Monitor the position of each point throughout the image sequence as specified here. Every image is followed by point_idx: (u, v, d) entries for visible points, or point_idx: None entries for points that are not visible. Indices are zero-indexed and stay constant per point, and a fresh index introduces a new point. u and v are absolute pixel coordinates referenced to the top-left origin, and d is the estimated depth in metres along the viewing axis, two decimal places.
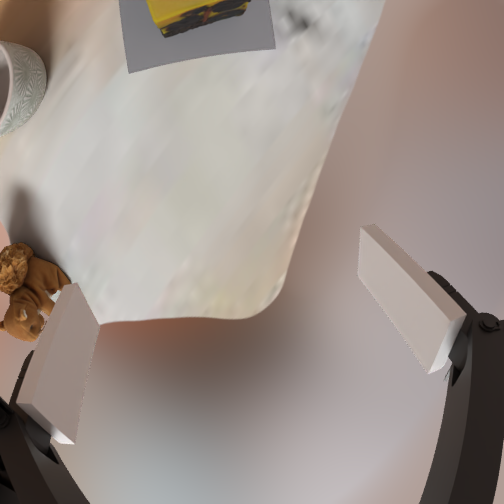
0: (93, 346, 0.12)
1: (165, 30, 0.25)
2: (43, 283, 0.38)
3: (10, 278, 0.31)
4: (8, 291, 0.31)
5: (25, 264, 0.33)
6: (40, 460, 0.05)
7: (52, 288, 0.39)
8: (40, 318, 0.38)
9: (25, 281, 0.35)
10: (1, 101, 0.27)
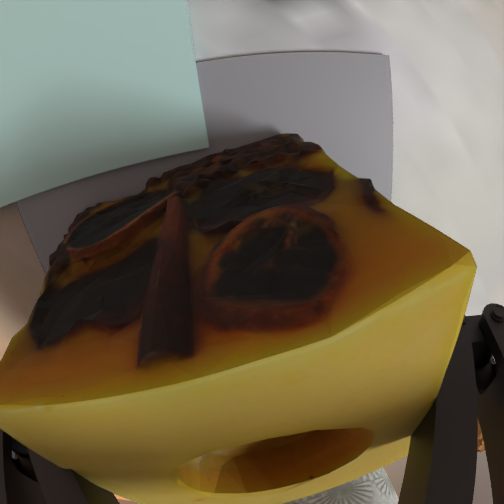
0: None
1: None
2: None
3: None
4: None
5: None
6: None
7: None
8: None
9: None
10: None
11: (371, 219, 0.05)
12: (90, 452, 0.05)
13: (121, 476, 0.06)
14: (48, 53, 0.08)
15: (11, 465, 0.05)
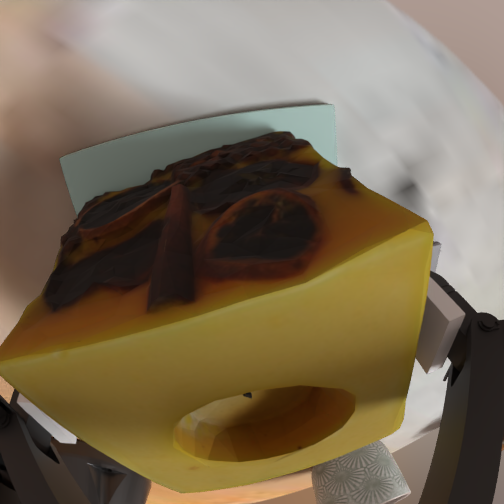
0: None
1: None
2: None
3: None
4: None
5: None
6: (41, 460, 0.05)
7: None
8: None
9: None
10: None
11: (346, 199, 0.07)
12: (96, 406, 0.06)
13: (121, 436, 0.07)
14: None
15: None
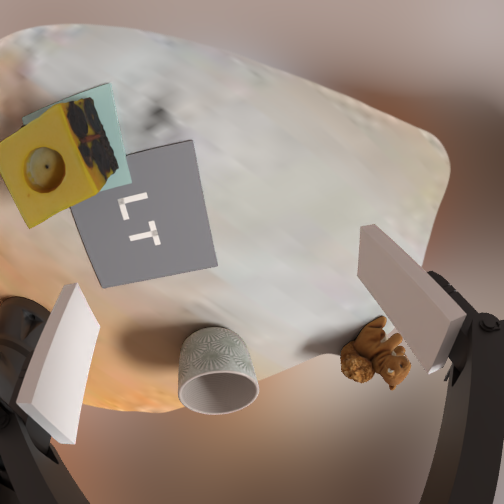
0: (93, 346, 0.12)
1: (109, 172, 0.31)
2: (375, 342, 0.54)
3: (363, 373, 0.51)
4: (371, 375, 0.51)
5: (358, 359, 0.51)
6: (40, 460, 0.05)
7: (380, 334, 0.55)
8: (398, 349, 0.54)
9: (369, 357, 0.54)
10: None
11: None
12: (8, 158, 0.22)
13: (11, 172, 0.23)
14: None
15: None
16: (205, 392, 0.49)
